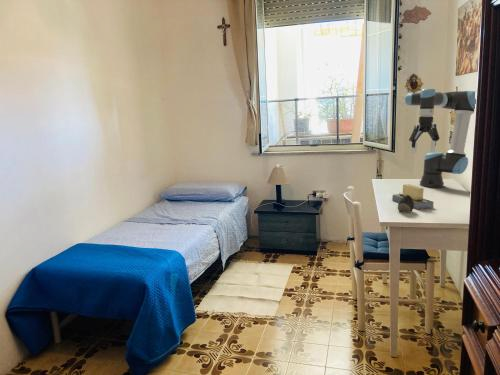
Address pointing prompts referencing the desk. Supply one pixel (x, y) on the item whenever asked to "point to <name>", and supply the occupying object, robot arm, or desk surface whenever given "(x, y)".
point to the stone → (406, 204)
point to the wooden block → (413, 192)
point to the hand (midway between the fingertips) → (423, 152)
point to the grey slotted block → (415, 202)
